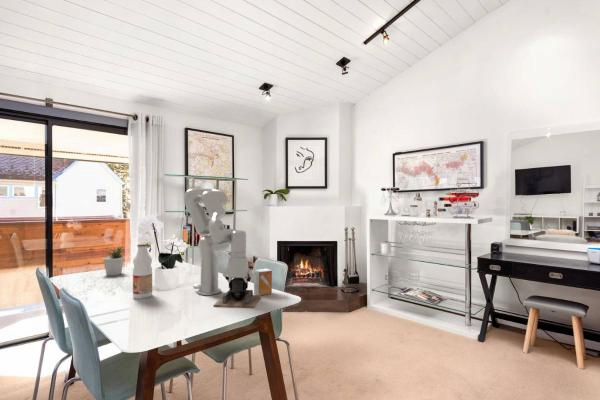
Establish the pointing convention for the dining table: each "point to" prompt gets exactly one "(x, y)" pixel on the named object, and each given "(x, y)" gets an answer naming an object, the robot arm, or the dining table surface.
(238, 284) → the supplement bottle
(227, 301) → the dock
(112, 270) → the potted plant
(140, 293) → the fruit juice
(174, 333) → the dining table surface
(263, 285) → the small box
